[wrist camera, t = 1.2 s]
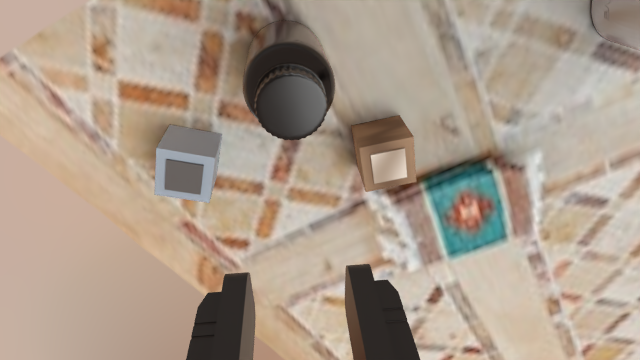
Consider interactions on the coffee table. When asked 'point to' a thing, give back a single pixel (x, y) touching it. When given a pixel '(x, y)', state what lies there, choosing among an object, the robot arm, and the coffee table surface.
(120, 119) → the coffee table surface
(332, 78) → the supplement bottle
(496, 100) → the coffee table surface
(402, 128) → the walnut block
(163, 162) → the slate-blue block
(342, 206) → the coffee table surface
